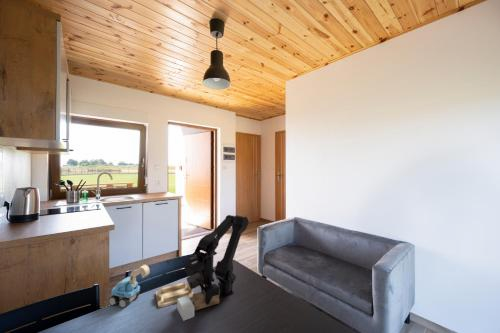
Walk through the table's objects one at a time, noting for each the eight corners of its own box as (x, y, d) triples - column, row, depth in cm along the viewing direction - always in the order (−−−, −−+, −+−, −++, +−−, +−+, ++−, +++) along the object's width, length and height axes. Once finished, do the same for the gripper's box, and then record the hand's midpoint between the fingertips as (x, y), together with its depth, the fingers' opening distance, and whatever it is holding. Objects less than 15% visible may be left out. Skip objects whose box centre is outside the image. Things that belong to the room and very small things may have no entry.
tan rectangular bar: (215, 297, 101) (216, 288, 101) (219, 303, 97) (219, 293, 97) (192, 304, 96) (192, 294, 96) (194, 310, 92) (195, 299, 92)
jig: (188, 285, 113) (188, 280, 113) (194, 298, 102) (194, 292, 102) (155, 293, 105) (155, 287, 105) (158, 308, 94) (158, 301, 94)
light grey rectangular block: (177, 308, 95) (177, 298, 95) (187, 305, 97) (187, 295, 97) (183, 321, 87) (183, 310, 87) (194, 317, 90) (194, 306, 90)
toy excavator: (139, 311, 92) (140, 271, 92) (106, 305, 95) (107, 266, 95) (152, 299, 100) (153, 262, 100) (121, 294, 104) (122, 258, 104)
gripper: (184, 261, 101) (183, 294, 101) (194, 280, 84) (193, 320, 84) (207, 257, 106) (206, 288, 106) (220, 274, 90) (219, 311, 90)
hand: (205, 301), depth 96 cm, fingers closed on tan rectangular bar, 4 cm apart
